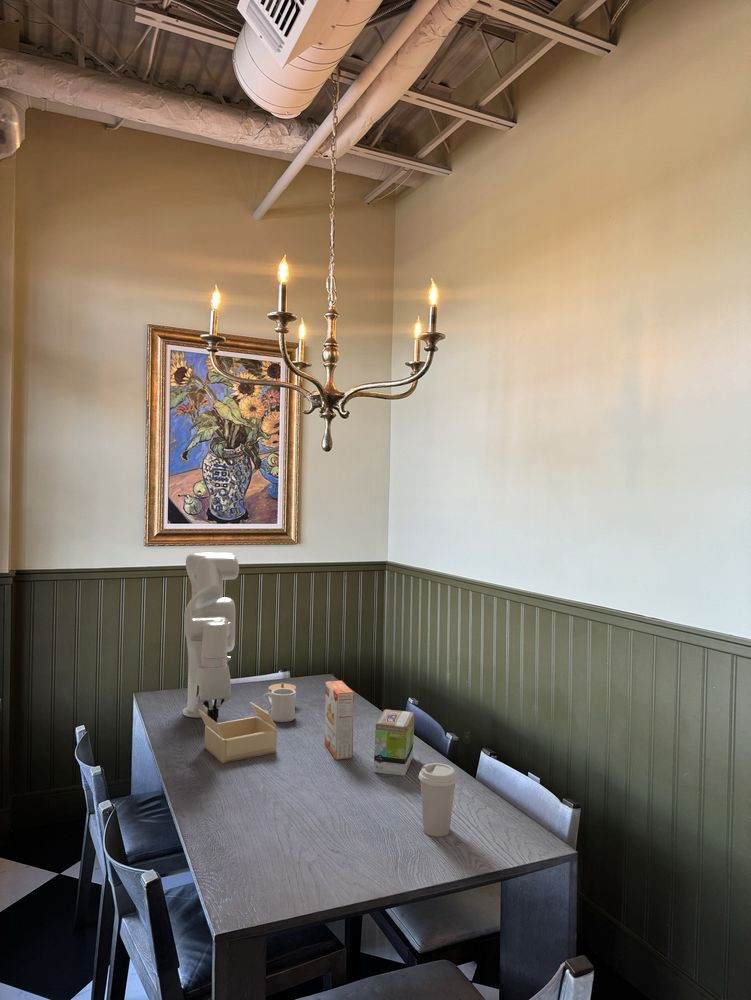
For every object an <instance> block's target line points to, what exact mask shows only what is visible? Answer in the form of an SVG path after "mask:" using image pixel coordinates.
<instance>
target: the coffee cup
mask: <svg viewBox="0 0 751 1000" xmlns="http://www.w3.org/2000/svg"><path fill="white" fill-rule="evenodd" d="M418 780H419V781H420V794H421V810H422V812H421V813H422V814H421V815H422V827H423V828H422V829H423V832H424V833H425V834H427V835H428V836H431V837H437V838H438V837H439V838H440V837H446V836H447V835H449V833H450V832H451V822H452V814H453V806H454V805H453V803H454V797H455V790H456V789H455V787H456V783H457V782H458V775H457V773H456V772H455V768H453V767H452V766H451V765H449V764H444V763H440V762H433V763H427V764H425V765H423V766H422V767H421V770H420V771H419V774H418Z"/></svg>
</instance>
